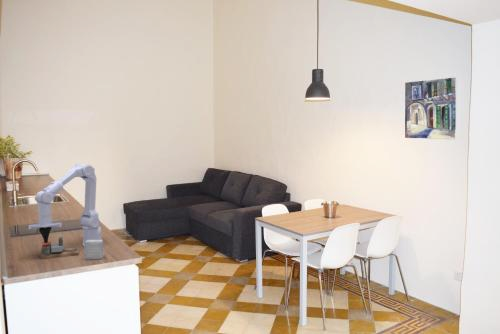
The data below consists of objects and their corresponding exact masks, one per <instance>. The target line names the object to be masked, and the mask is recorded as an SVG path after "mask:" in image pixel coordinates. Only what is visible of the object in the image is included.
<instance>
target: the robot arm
mask: <svg viewBox="0 0 500 334" xmlns="http://www.w3.org/2000/svg"><path fill="white" fill-rule="evenodd" d="M75 178H81V179H82V180H83V181H84V182H85V184H84V187H85V188H84V189H85V190H84V208H83V209H84V210H83V211H82V212H81V215H80V217H79V218H80V219H79V224H80V226H81V227H82V239H83V240H82V246H83V247H84V242H85V241H87V240H103V239H102V231H101V228H102V227H101V226H99V225H100V218H99V213H98V212H97V210H96V197H97V175H96V172H95V168H94V167H93V166H92V165H91V164H81V163H76V164H75V165H74V166H72V167H71V168H70V170H69V171H68V172H66V174H64V175H63V176H62V177H60V179H58V180H55V181H51V182H50V184H49V185H48V186H46V187H44V188H43V190H41V191H38V192H37V193H36V195H35V197H34V201H36V203H37V212H38V213H37V215H38V216H37V219H38V223H35V224H28V230H36V229H38V231H39V233H40V235H41V236H42V239H43V242H44V243H48V241H49V238H50V237H49V236H50V234H51V233H50V232H51V231H52V228H62V222H52V220H53V219H52V205H51V204H52V202H53V199H54V197H56V196H57V195H58V194H59V193H60V192H62V190H63V189H64V186H65V185H67V184H68V183H70V182H71V181H72V180H74V179H75Z"/></svg>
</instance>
